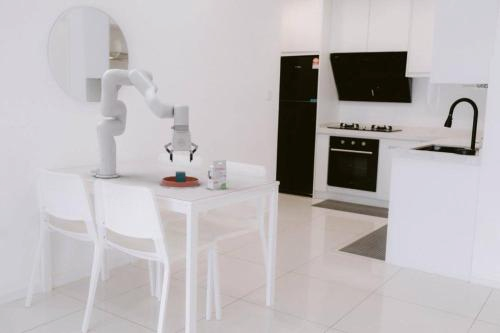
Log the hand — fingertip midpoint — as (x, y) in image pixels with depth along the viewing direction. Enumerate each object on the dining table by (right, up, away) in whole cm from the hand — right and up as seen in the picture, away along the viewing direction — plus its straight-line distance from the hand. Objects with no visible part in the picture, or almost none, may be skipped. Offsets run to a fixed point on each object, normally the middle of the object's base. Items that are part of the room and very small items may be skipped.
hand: (181, 161), depth 244 cm
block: (-1, -11, +2) cm, 12 cm away
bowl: (-1, -12, +2) cm, 12 cm away
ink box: (+19, -14, -5) cm, 24 cm away
